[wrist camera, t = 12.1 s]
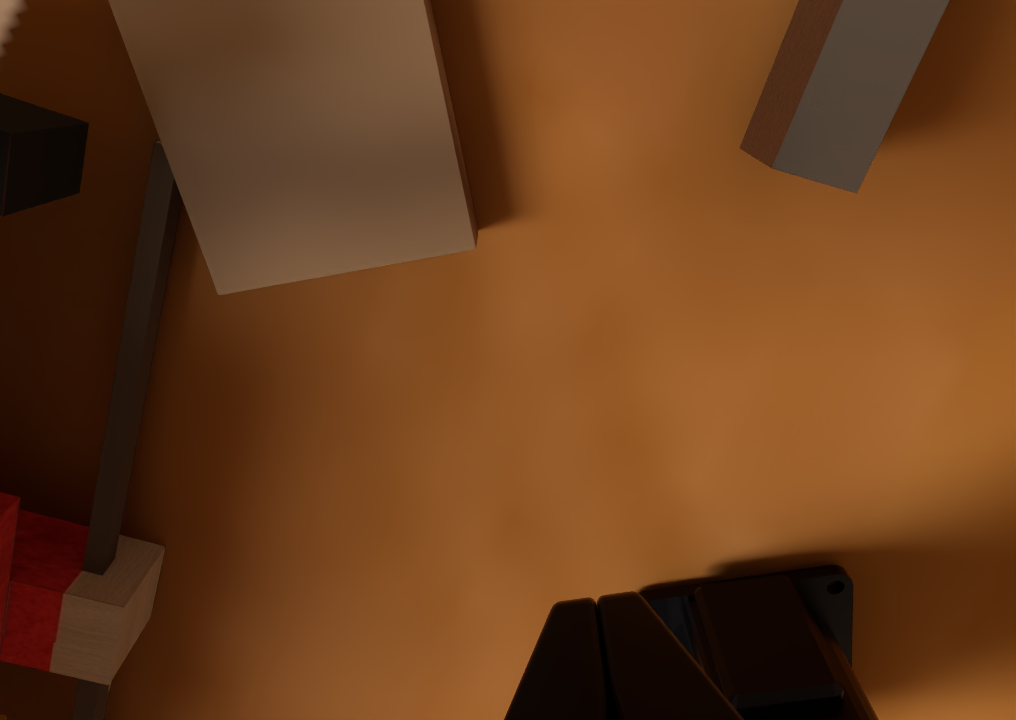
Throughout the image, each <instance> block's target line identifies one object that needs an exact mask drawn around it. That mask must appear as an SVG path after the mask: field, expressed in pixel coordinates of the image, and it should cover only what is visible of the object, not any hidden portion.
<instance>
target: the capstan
mask: <svg viewBox="0 0 1016 720" xmlns="http://www.w3.org/2000/svg"><path fill="white" fill-rule="evenodd" d="M949 1H950V0H799V2H798V5H797V7H796V10H795V12H794V15H793V17H792V20H791V22H790V25H789V27H788V29H787V32H786V34H785V37H784V39H783V42H782V44H781V47H780V49H779V52H778V54H777V57H776V59H775V62H774V64H773V67H772V69H771V72H770V74H769V77H768V79H767V82H766V84H765V87H764V89H763V91H762V94H761V96H760V99H759V101H758V104H757V106H756V109H755V111H754V114H753V116H752V119H751V121H750V124H749V126H748V129H747V131H746V134H745V136H744V139H743V141H742V144H741V146H740V149H741V150H743V151H745V152H746V153H748V154H750V155H751V156H753V157H754V158H756V159H758V160H759V161H761V162H762V163H764V164H766V165H767V166H769V167H771V168H773V169H776V170H779V171H783V172H786V173H789V174H793V175H796V176H800V177H803V178H806V179H810V180H813V181H816V182H820V183H823V184H827V185H830V186H833V187H837V188H840V189H843V190H847V191H850V192H854V193H857V192H858V190H859V188H860V186H861V184H862V181H863V179H864V177H865V175H866V173H867V171H868V169H869V167H870V165H871V163H872V161H873V159H874V157H875V154H876V152H877V150H878V148H879V146H880V144H881V142H882V140H883V138H884V136H885V134H886V132H887V129H888V127H889V125H890V123H891V121H892V119H893V117H894V115H895V113H896V111H897V109H898V107H899V105H900V102H901V100H902V98H903V96H904V94H905V92H906V90H907V88H908V86H909V84H910V82H911V80H912V77H913V75H914V73H915V71H916V69H917V67H918V65H919V63H920V61H921V59H922V57H923V55H924V53H925V50H926V48H927V46H928V44H929V42H930V40H931V38H932V36H933V34H934V32H935V30H936V28H937V25H938V23H939V21H940V19H941V17H942V15H943V13H944V11H945V9H946V7H947V5H948V3H949Z"/></svg>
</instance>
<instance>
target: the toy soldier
mask: <svg viewBox="0 0 1016 720" xmlns="http://www.w3.org/2000/svg"><path fill="white" fill-rule="evenodd" d="M88 126H89V123H87V122H84V121H81V120H78V119H75V118H72V117H69V116H66V115H63V114H60V113H57V112H54V111H51V110H48V109H45V108H42V107H39V106H36V105H33V104H30V103H27V102H24V101H21V100H18V99H15V98H12V97H9V96H5V95H2V94H0V216H5V215H8V214H12V213H15V212H18V211H22V210H25V209H28V208H31V207H35V206H38V205H41V204H45V203H48V202H51V201H54V200H58V199H61V198H64V197H68V196H71V195H74V194H77V193H79V192H80V184H81V177H82V170H83V163H84V155H85V148H86V141H87V134H88ZM181 201H182V197H181V194H180V191H179V189H178V186H177V183H176V181H175V178H174V175H173V173H172V170H171V167H170V165H169V162H168V159H167V157H166V154H165V151H164V149H163V146H162V143H161V140H160V141H155V142H154V147H153V153H152V159H151V165H150V171H149V177H148V182H147V188H146V194H145V200H144V206H143V212H142V218H141V224H140V230H139V236H138V242H137V248H136V254H135V259H134V265H133V271H132V277H131V283H130V289H129V295H128V301H127V307H126V313H125V319H124V325H123V331H122V336H121V342H120V348H119V354H118V360H117V366H116V372H115V378H114V384H113V390H112V396H111V402H110V408H109V413H108V419H107V425H106V431H105V437H104V443H103V449H102V455H101V461H100V467H99V473H98V479H97V485H96V490H95V496H94V502H93V508H92V514H91V520H90V526H89V527H88V526H84V525H80V524H76V523H72V522H68V521H64V520H60V519H56V518H52V517H49V516H45V515H41V514H37V513H33V512H29V511H25V510H21V509H19V508H20V500H21V497H18V496H14V495H10V494H6V493H2V492H0V661H4V662H9V663H13V664H18V665H22V666H26V667H31V668H35V669H40V670H44V671H48V672H53V673H57V674H61V675H66V676H70V677H75V678H79V681H78V687H77V692H76V698H75V704H74V709H73V715H72V720H104V716H105V711H106V706H107V701H108V696H109V691H110V686H111V681H112V679H113V678H114V676H115V675H116V673H117V671H118V670H119V668H120V666H121V665H122V663H123V662H124V660H125V658H126V657H127V655H128V653H129V652H130V650H131V648H132V647H133V645H134V644H135V642H136V640H137V639H138V637H139V635H140V634H141V632H142V631H143V629H144V627H145V626H146V624H147V622H148V621H149V619H150V618H151V613H152V608H153V604H154V599H155V594H156V590H157V585H158V580H159V575H160V571H161V566H162V561H163V557H164V552H165V546H162V545H158V544H154V543H150V542H146V541H142V540H138V539H134V538H131V537H127V536H123V535H119V534H120V529H121V523H122V518H123V512H124V507H125V502H126V496H127V491H128V486H129V480H130V475H131V470H132V464H133V459H134V453H135V448H136V443H137V437H138V432H139V427H140V421H141V416H142V410H143V405H144V400H145V394H146V389H147V384H148V378H149V373H150V367H151V362H152V357H153V351H154V346H155V341H156V335H157V330H158V325H159V319H160V314H161V308H162V303H163V298H164V292H165V287H166V282H167V276H168V271H169V265H170V260H171V255H172V249H173V244H174V239H175V233H176V228H177V223H178V217H179V212H180V206H181ZM0 720H7V716H4V715H1V714H0Z"/></svg>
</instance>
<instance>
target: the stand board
mask: <svg viewBox="0 0 1016 720" xmlns="http://www.w3.org/2000/svg"><path fill="white" fill-rule="evenodd" d="M108 1H109V4H110V6H111V9H112V12H113V14H114V17H115V20H116V23H117V25H118V28H119V31H120V33H121V36H122V39H123V41H124V44H125V47H126V49H127V52H128V55H129V57H130V60H131V63H132V65H133V68H134V71H135V73H136V76H137V79H138V82H139V84H140V87H141V90H142V92H143V95H144V98H145V100H146V103H147V106H148V108H149V111H150V114H151V116H152V119H153V122H154V124H155V127H156V130H157V132H158V135H159V138H160V140H161V143H162V146H163V149H164V151H165V154H166V157H167V159H168V162H169V165H170V167H171V170H172V173H173V175H174V178H175V181H176V183H177V186H178V189H179V191H180V194H181V197H182V199H183V202H184V205H185V208H186V210H187V213H188V216H189V218H190V221H191V224H192V226H193V229H194V232H195V234H196V237H197V240H198V242H199V245H200V248H201V250H202V253H203V256H204V258H205V261H206V264H207V267H208V269H209V272H210V275H211V277H212V280H213V283H214V285H215V288H216V291H217V293H218V296H219V295H224V294H230V293H235V292H241V291H246V290H252V289H258V288H263V287H269V286H274V285H280V284H286V283H291V282H297V281H302V280H308V279H313V278H319V277H325V276H330V275H336V274H341V273H347V272H352V271H358V270H364V269H369V268H375V267H380V266H386V265H392V264H397V263H403V262H408V261H414V260H419V259H425V258H431V257H436V256H442V255H447V254H453V253H459V252H464V251H470V250H475V249H476V245H477V237H478V227H477V222H476V218H475V213H474V208H473V203H472V198H471V193H470V189H469V184H468V179H467V174H466V169H465V164H464V159H463V155H462V150H461V145H460V140H459V135H458V130H457V125H456V121H455V116H454V111H453V106H452V101H451V96H450V92H449V87H448V82H447V77H446V72H445V67H444V62H443V58H442V53H441V48H440V43H439V38H438V33H437V29H436V24H435V19H434V14H433V9H432V4H431V0H108Z"/></svg>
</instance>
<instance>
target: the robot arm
mask: <svg viewBox="0 0 1016 720" xmlns="http://www.w3.org/2000/svg"><path fill="white" fill-rule="evenodd" d="M834 581H837V582H836V583H834V584H831V585H829V584H830V583H831V582H834ZM651 607H653V608H651ZM597 608H598V609H597ZM852 619H853V583H852V580H851V578H850V576H849V575H848V573H847V571H846V570H845V569H844V568H843V567H840V566H838V565H829V566H821V567H814V568H807V569H800V570H793V571H786V572H779V573H772V574H765V575H757V576H750V577H743V578H736V579H729V580H722V581H715V582H708V583H701V584H693V585H686V586H679V587H672V588H665V589H658V590H651V591H644V592H641V593H637V592H634V591H631V592H624V593H617V594H610V595H603V596H601V597H600V598H598V601H597V604H596V602H595V601H594V599H592V598H581V599H574V600H567V601H560V602H557V603H556V604H554V605H553V607H552V609H551V611H550V613H549V615H548V618H547V620H546V622H545V625H544V627H543V629H542V632H541V634H540V636H539V639H538V641H537V643H536V646H535V648H534V650H533V653H532V655H531V657H530V660H529V662H528V664H527V667H526V669H525V672H524V674H523V676H522V679H521V681H520V683H519V686H518V688H517V690H516V693H515V695H514V697H513V700H512V702H511V704H510V707H509V709H508V711H507V714H506V716H505V718H504V720H878V718H877V716H876V714H875V712H874V710H873V708H872V706H871V704H870V702H869V701H868V699H867V697H866V695H865V693H864V691H863V689H862V687H861V685H860V683H859V681H858V679H857V677H856V675H855V674H854V672H853V670H852Z"/></svg>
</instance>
